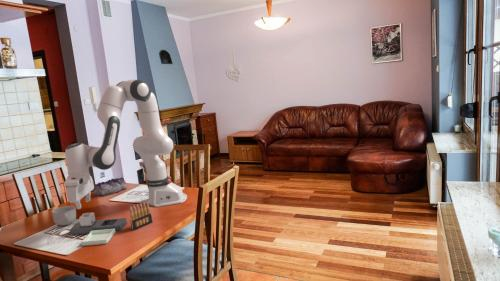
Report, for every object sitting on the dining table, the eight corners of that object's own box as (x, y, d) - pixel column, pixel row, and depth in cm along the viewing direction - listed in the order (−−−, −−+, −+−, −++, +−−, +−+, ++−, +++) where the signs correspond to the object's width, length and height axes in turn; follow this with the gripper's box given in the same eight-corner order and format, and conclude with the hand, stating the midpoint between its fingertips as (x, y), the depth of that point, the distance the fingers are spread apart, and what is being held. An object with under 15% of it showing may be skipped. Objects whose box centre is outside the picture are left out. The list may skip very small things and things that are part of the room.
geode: (122, 186, 232) (121, 172, 230) (129, 191, 225) (129, 177, 222) (91, 194, 218) (90, 179, 216) (98, 199, 210) (97, 185, 208)
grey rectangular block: (96, 227, 167) (93, 211, 166) (92, 232, 162) (89, 215, 161) (86, 228, 167) (83, 212, 166) (82, 233, 162) (79, 216, 161)
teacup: (56, 221, 178) (53, 207, 177) (78, 217, 182) (76, 203, 181) (52, 232, 166) (49, 217, 164) (77, 226, 170) (74, 212, 168)
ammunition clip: (133, 230, 160) (129, 207, 158) (131, 230, 161) (127, 206, 159) (152, 222, 168) (149, 199, 166) (150, 221, 169) (147, 199, 167)
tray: (115, 232, 160) (114, 228, 160) (106, 243, 149) (106, 239, 149) (92, 234, 160) (91, 230, 159) (81, 246, 149) (81, 242, 148)
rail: (126, 223, 169) (126, 217, 169) (121, 230, 161) (120, 224, 161) (78, 227, 168) (77, 222, 168) (71, 235, 161) (70, 229, 160)
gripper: (82, 172, 170) (86, 198, 172) (62, 184, 149) (67, 213, 152) (95, 171, 170) (99, 197, 172) (76, 183, 150) (81, 212, 152)
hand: (83, 204), depth 162 cm, fingers open, 8 cm apart
